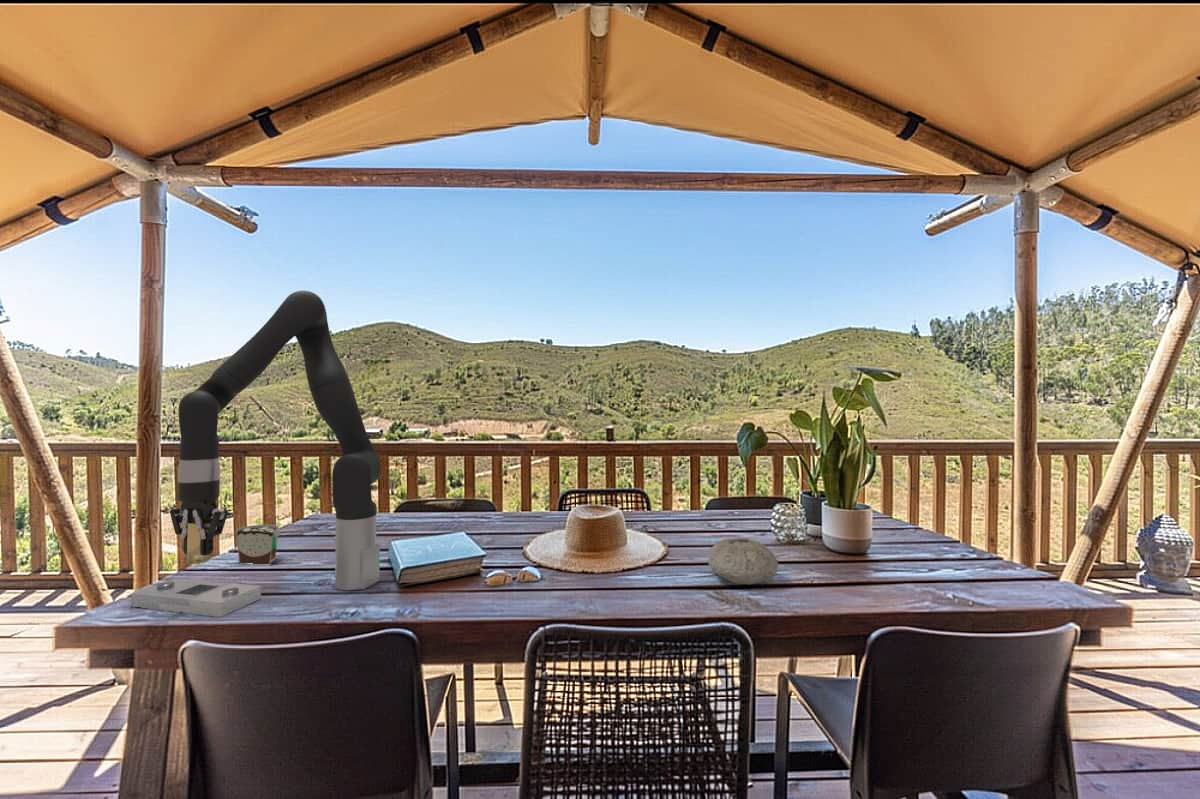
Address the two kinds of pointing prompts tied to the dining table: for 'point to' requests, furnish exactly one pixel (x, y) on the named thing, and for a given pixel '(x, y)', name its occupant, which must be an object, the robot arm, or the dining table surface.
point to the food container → (257, 543)
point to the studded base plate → (196, 597)
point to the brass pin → (195, 545)
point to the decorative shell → (742, 561)
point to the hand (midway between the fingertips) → (198, 553)
